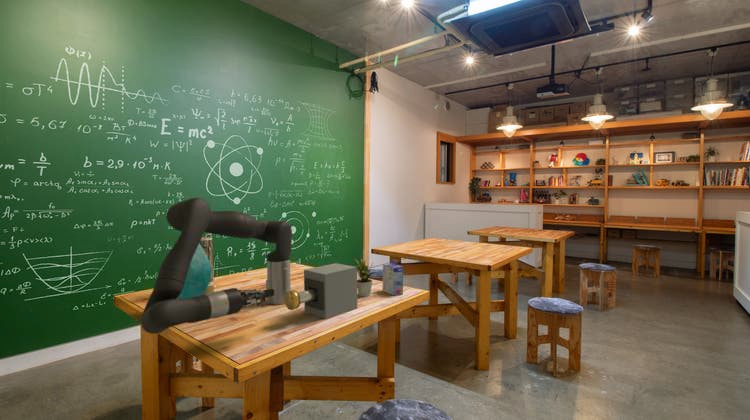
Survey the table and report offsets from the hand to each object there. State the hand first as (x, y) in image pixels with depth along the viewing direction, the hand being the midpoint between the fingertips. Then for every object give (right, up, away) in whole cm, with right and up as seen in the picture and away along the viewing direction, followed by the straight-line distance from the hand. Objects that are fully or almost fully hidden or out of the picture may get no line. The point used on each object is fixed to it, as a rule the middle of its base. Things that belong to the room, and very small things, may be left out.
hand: (273, 291), depth 121 cm
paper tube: (-42, -11, +43) cm, 61 cm away
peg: (+9, -7, +11) cm, 16 cm away
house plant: (+28, -10, +40) cm, 50 cm away
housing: (+17, -11, +20) cm, 28 cm away
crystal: (-36, -12, +19) cm, 43 cm away
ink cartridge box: (+41, -10, +43) cm, 61 cm away
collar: (+11, -9, +13) cm, 19 cm away
